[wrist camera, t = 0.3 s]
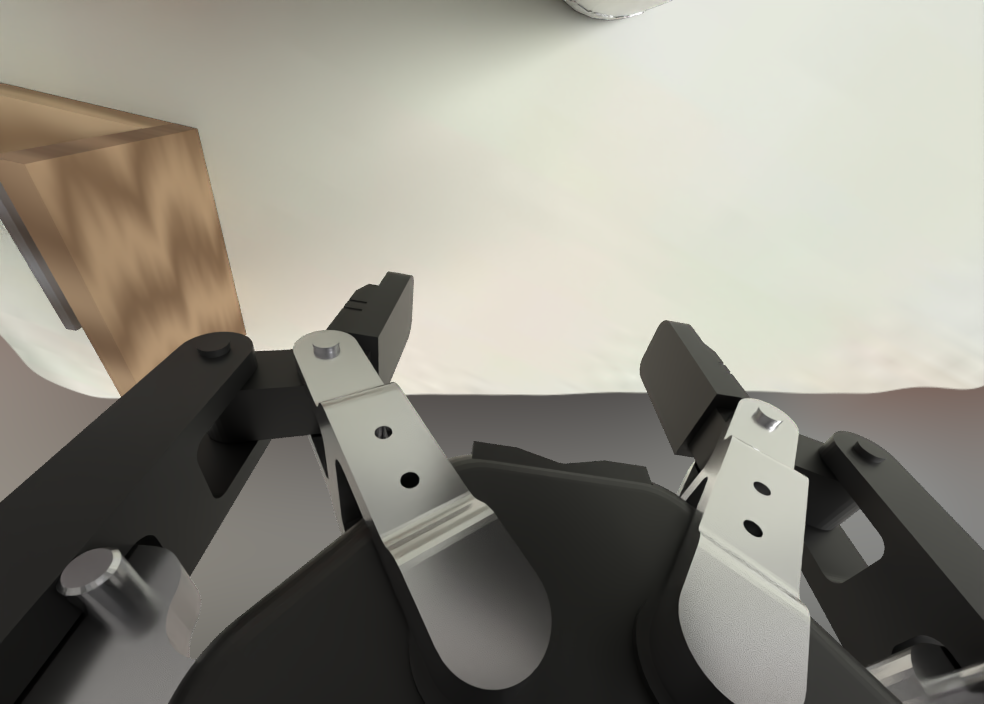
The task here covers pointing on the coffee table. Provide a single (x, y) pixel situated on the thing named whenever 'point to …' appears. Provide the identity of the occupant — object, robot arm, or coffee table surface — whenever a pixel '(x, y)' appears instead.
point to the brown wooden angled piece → (115, 227)
